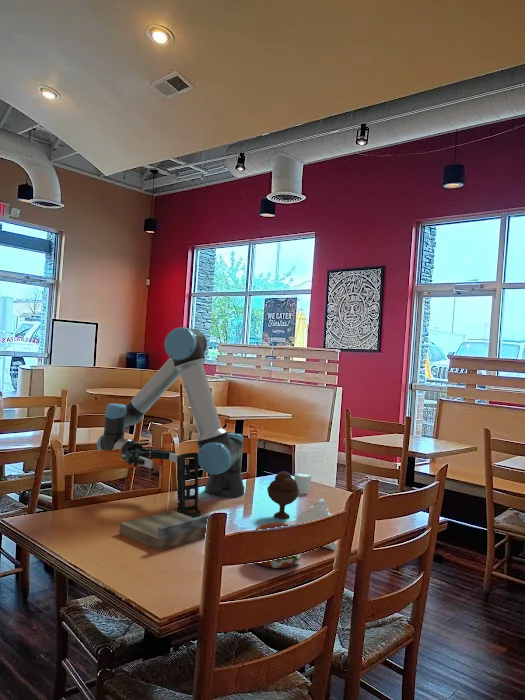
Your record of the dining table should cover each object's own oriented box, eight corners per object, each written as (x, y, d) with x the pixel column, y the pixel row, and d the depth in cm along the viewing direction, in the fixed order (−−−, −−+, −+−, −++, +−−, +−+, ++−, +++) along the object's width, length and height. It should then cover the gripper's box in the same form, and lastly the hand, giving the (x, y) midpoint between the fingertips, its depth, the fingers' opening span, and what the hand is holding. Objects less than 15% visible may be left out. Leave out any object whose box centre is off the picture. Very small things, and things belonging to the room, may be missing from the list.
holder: (194, 521, 175) (192, 457, 176) (171, 520, 177) (170, 457, 177) (204, 511, 186) (203, 452, 187) (183, 511, 187) (181, 452, 188)
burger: (250, 550, 154) (253, 514, 154) (299, 554, 153) (302, 518, 153) (247, 569, 140) (250, 530, 140) (301, 574, 140) (304, 534, 140)
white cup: (311, 495, 218) (312, 477, 218) (293, 493, 219) (294, 476, 219) (309, 490, 225) (310, 473, 225) (292, 489, 225) (294, 472, 225)
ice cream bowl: (258, 515, 186) (261, 471, 186) (280, 510, 195) (283, 467, 195) (282, 524, 179) (285, 477, 179) (304, 517, 187) (307, 473, 187)
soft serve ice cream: (300, 537, 172) (312, 492, 174) (343, 554, 163) (355, 506, 165) (279, 537, 162) (293, 488, 164) (324, 555, 153) (337, 504, 155)
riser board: (172, 520, 176) (173, 501, 176) (212, 535, 164) (214, 514, 164) (119, 533, 160) (120, 512, 160) (160, 551, 149) (161, 528, 149)
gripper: (154, 457, 211) (193, 469, 198) (98, 464, 192) (136, 477, 179) (156, 438, 211) (195, 448, 198) (100, 443, 192) (138, 454, 179)
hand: (167, 462), depth 188 cm, fingers open, 13 cm apart
